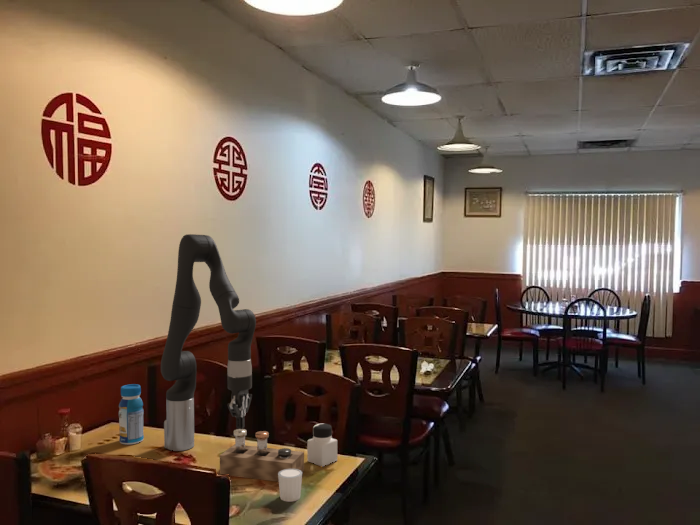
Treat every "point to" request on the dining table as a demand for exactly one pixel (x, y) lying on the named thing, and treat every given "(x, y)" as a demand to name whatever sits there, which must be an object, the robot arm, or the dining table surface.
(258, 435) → the copper-capped glass cylinder
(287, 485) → the white cup
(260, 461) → the walnut block
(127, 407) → the beverage bottle
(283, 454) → the grey capped glass jar
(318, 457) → the medicine bottle
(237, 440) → the cream plunger
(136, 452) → the dining table surface
